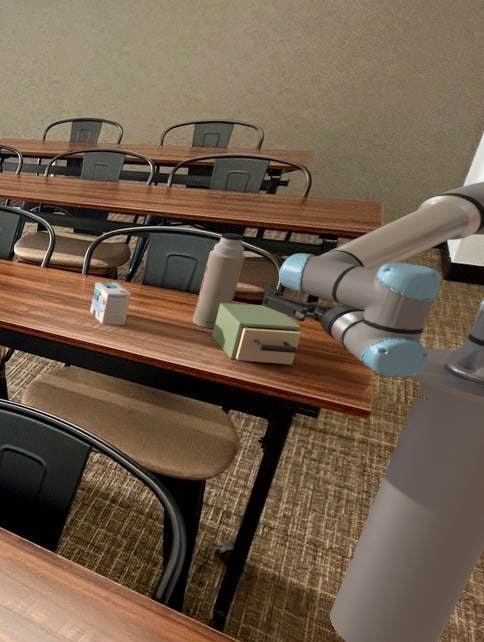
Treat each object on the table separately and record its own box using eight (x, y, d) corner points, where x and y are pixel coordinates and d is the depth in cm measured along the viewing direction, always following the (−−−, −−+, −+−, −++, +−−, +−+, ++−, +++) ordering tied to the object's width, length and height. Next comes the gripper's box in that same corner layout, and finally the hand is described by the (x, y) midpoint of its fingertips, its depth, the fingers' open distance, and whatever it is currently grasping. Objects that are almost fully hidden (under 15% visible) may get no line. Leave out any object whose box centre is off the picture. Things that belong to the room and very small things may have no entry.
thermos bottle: (187, 322, 176) (209, 234, 166) (199, 316, 180) (222, 229, 169) (218, 331, 169) (243, 240, 159) (230, 324, 173) (255, 235, 163)
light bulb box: (89, 312, 188) (94, 281, 184) (111, 312, 187) (118, 281, 183) (101, 325, 178) (107, 293, 174) (125, 326, 177) (132, 293, 173)
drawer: (301, 373, 143) (311, 341, 140) (244, 368, 147) (252, 337, 144) (269, 342, 159) (277, 313, 156) (219, 338, 163) (226, 310, 160)
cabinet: (290, 364, 149) (301, 327, 146) (230, 359, 154) (239, 322, 150) (266, 340, 162) (276, 306, 158) (212, 336, 167) (220, 302, 163)
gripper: (271, 338, 120) (234, 302, 138) (433, 351, 111) (370, 311, 129) (280, 305, 117) (241, 273, 136) (447, 316, 108) (381, 280, 127)
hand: (304, 291), depth 132 cm, fingers open, 13 cm apart
